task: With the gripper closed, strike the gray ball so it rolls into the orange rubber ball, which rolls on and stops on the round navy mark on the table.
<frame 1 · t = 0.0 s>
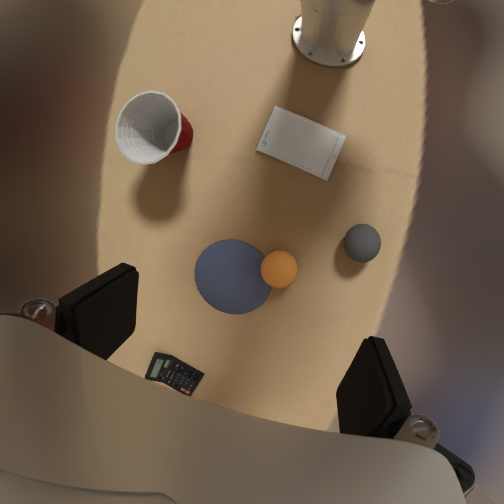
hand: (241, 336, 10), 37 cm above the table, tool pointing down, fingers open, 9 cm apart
hard drive: (301, 143, 43), on the table
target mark: (232, 278, 50), on the table
gray ball: (362, 243, 42), on the table
object ball: (279, 269, 46), on the table
plastic cup: (178, 136, 45), on the table
calculator: (175, 371, 60), on the table
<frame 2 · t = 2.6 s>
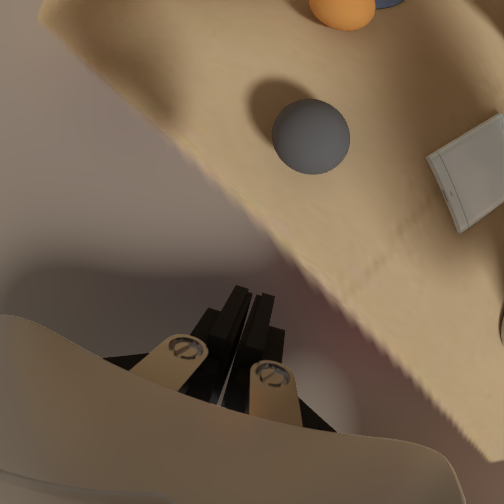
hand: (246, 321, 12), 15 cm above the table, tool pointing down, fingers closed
hard drive: (478, 169, 21), on the table
gray ball: (311, 136, 20), on the table
object ball: (342, 2, 16), on the table
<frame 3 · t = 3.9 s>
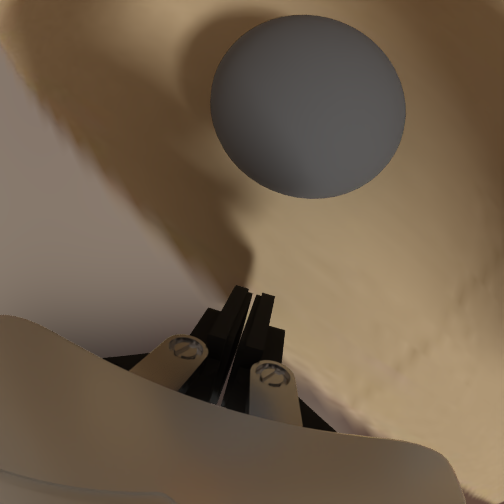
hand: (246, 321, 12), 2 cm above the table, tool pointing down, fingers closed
gray ball: (308, 104, 8), on the table
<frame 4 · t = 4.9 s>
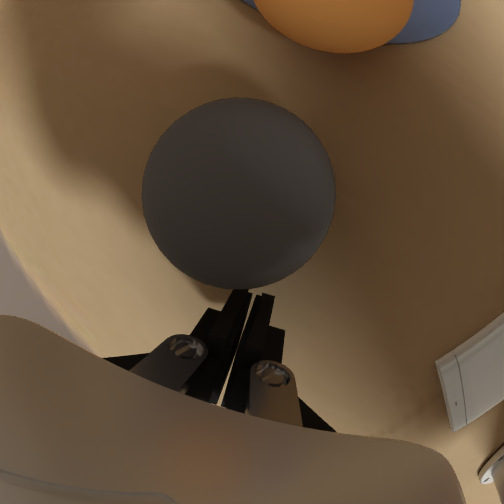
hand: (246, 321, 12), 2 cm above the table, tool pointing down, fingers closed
gray ball: (238, 192, 9), on the table
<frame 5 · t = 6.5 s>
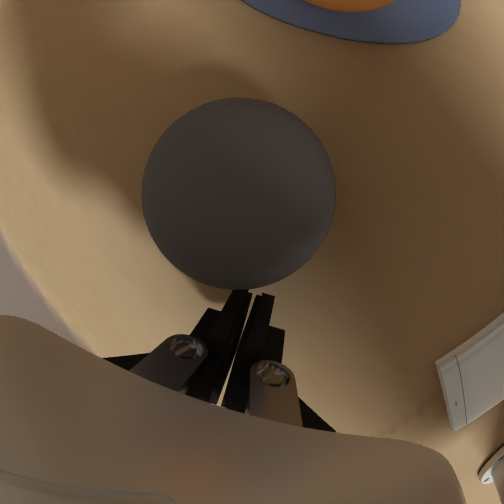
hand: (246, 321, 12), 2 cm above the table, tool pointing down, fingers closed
gray ball: (238, 192, 9), on the table
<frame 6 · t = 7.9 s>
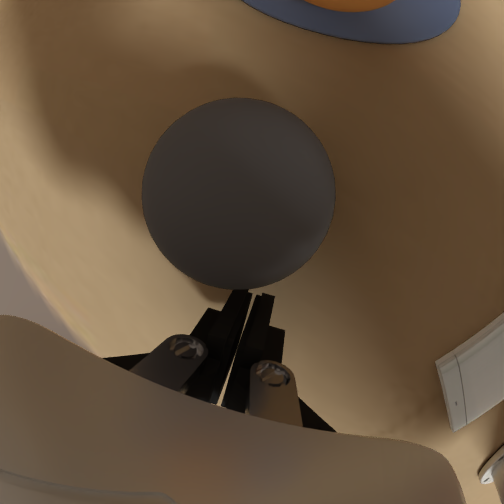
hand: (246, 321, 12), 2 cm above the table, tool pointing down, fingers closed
gray ball: (238, 192, 9), on the table
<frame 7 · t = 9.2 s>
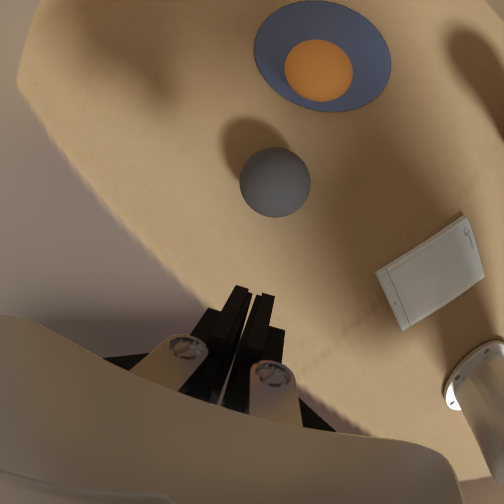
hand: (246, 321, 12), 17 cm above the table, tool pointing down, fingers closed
hard drive: (431, 271, 27), on the table
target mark: (324, 50, 22), on the table
gray ball: (275, 182, 24), on the table
object ball: (318, 70, 20), on the table
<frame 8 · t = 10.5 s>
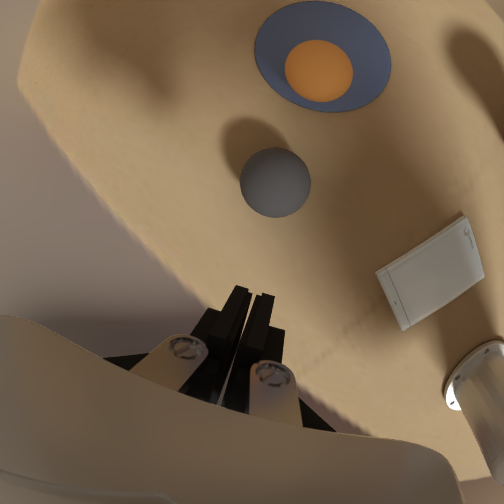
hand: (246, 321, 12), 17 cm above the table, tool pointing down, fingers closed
hard drive: (431, 271, 27), on the table
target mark: (324, 50, 22), on the table
gray ball: (275, 182, 24), on the table
object ball: (319, 70, 20), on the table
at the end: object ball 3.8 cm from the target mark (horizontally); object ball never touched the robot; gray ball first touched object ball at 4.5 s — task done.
